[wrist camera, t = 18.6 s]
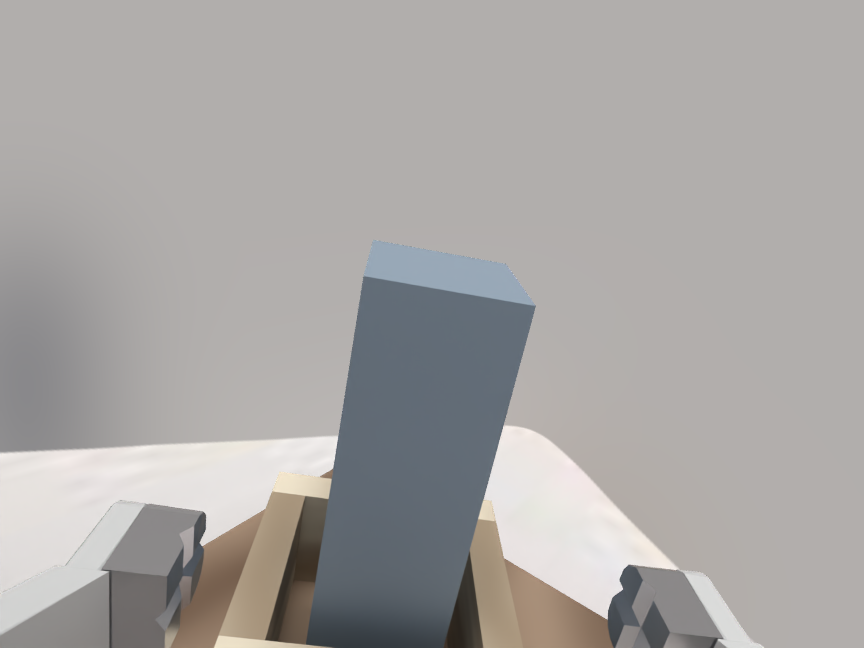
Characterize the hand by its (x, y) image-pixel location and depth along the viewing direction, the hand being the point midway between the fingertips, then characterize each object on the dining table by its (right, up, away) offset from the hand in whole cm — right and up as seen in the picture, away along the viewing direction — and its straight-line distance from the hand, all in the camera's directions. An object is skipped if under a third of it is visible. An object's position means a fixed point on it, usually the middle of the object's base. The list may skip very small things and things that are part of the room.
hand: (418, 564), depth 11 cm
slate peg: (-2, -7, +8) cm, 11 cm away
